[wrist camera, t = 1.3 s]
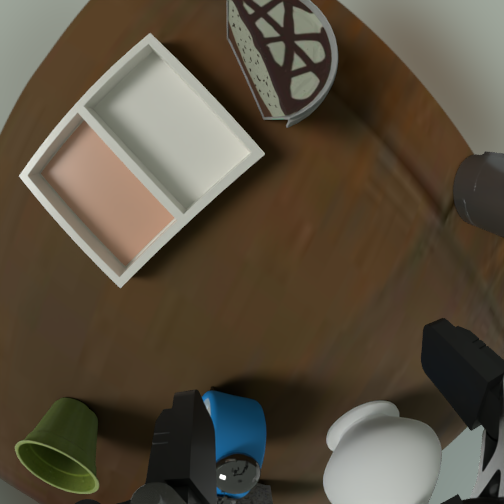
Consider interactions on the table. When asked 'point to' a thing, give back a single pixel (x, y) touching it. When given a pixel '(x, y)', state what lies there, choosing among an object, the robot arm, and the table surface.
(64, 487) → the plant pot
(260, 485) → the geological specimen
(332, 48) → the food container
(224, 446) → the alarm clock
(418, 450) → the decorative vase
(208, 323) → the table surface
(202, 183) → the tray
